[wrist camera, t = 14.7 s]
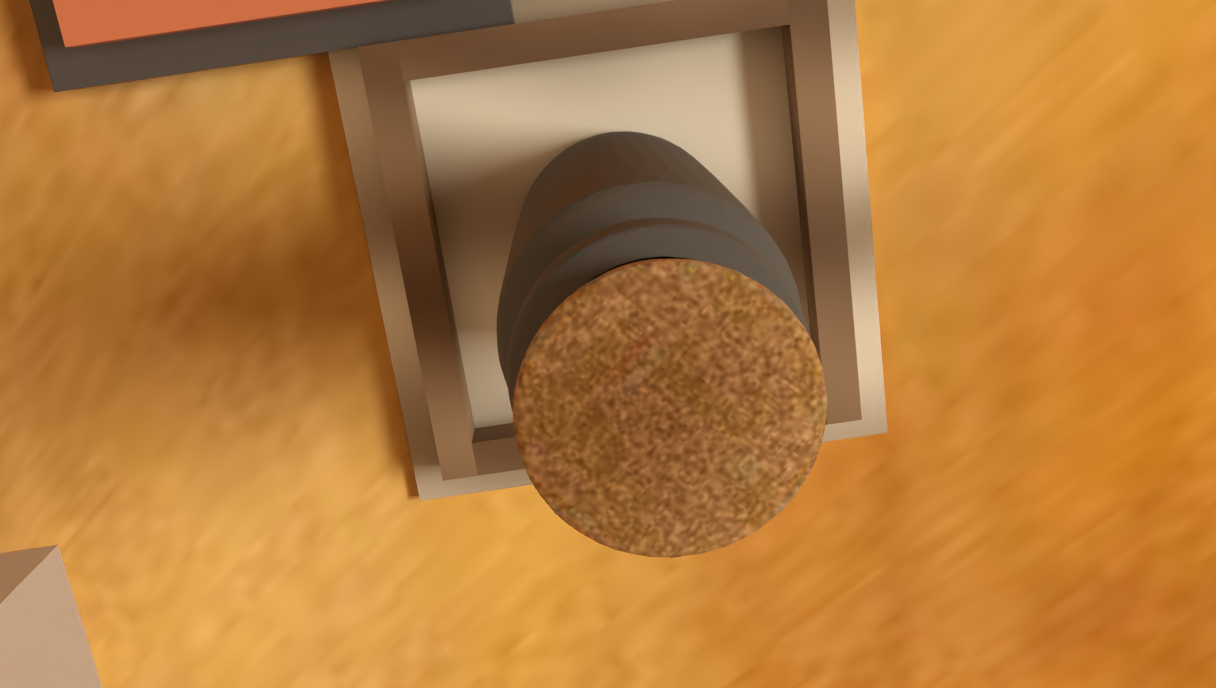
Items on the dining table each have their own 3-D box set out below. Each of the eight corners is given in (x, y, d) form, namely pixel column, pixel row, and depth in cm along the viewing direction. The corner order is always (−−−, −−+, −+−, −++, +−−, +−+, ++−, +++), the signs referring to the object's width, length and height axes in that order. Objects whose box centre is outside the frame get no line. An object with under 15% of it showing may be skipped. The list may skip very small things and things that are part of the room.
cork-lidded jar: (589, 373, 32) (607, 657, 17) (477, 201, 30) (395, 356, 16) (765, 268, 31) (935, 473, 17) (659, 87, 30) (745, 141, 15)
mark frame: (322, 13, 29) (310, 12, 28) (847, -65, 29) (861, -70, 28) (421, 496, 33) (414, 518, 32) (884, 429, 33) (899, 447, 32)
